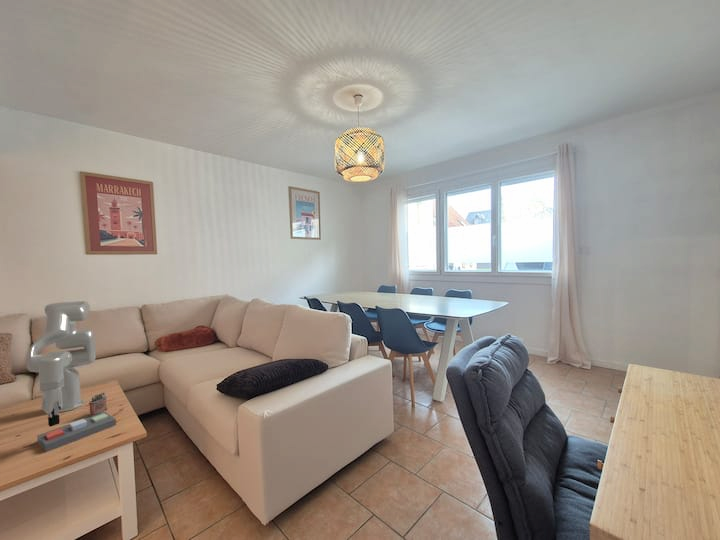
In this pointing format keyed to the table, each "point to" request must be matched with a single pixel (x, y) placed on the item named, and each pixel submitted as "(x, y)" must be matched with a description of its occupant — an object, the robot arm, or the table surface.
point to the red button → (54, 434)
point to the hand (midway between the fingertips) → (54, 424)
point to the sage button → (99, 418)
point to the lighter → (98, 404)
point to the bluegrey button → (77, 424)
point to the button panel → (75, 433)
